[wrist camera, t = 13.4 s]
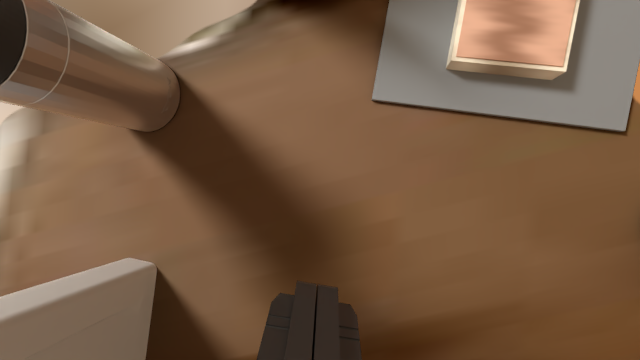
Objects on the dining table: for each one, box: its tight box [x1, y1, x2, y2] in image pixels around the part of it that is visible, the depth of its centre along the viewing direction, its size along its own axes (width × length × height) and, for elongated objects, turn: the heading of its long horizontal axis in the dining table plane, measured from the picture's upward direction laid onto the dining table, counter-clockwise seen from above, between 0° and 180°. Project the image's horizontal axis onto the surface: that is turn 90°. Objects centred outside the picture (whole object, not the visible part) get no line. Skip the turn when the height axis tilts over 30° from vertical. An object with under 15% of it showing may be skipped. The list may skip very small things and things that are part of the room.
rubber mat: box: [372, 0, 640, 132], centre depth 32 cm, size 24×22×1 cm
